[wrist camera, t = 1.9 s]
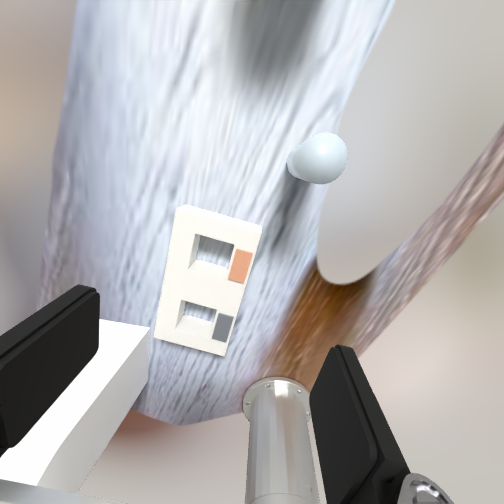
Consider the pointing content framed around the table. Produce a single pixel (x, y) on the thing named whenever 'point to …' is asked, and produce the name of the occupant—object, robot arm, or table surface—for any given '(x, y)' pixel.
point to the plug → (318, 159)
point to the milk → (83, 413)
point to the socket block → (204, 279)
